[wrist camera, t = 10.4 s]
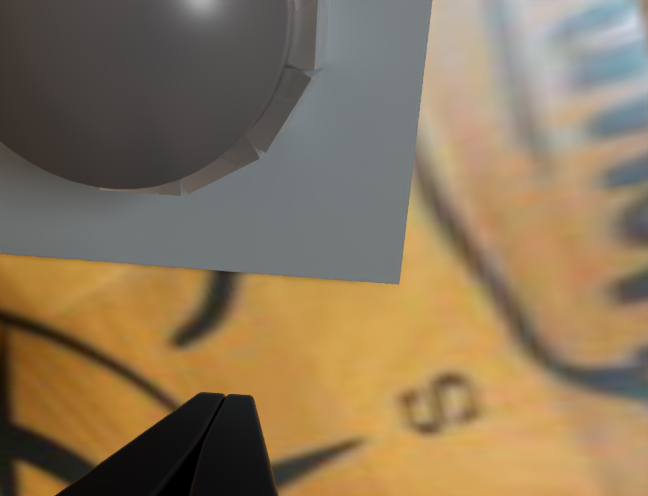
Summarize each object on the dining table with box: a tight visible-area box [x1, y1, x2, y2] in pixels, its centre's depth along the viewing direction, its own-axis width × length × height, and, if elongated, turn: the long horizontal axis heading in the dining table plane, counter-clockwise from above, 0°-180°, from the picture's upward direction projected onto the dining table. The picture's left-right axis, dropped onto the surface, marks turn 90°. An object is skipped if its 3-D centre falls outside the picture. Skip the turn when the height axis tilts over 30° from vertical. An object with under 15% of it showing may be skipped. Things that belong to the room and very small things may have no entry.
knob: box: [0, 0, 294, 189], centre depth 13 cm, size 7×7×5 cm
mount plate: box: [0, 0, 432, 284], centre depth 17 cm, size 16×14×2 cm
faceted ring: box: [90, 0, 330, 196], centre depth 14 cm, size 8×8×4 cm
